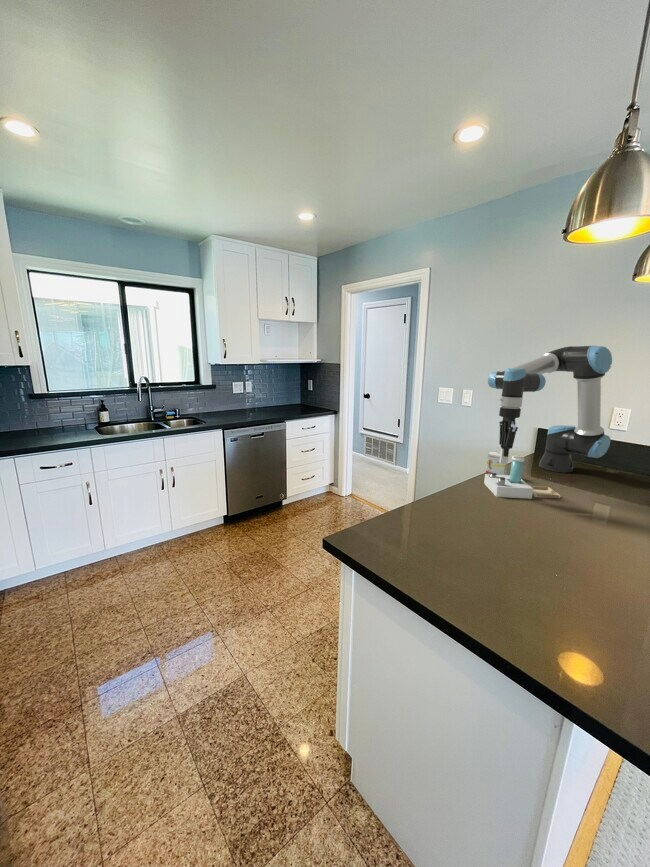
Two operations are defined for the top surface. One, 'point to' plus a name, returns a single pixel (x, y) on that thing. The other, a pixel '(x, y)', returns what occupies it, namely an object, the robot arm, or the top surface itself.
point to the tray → (544, 492)
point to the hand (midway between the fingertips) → (503, 463)
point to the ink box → (495, 464)
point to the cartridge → (516, 469)
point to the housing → (508, 487)
